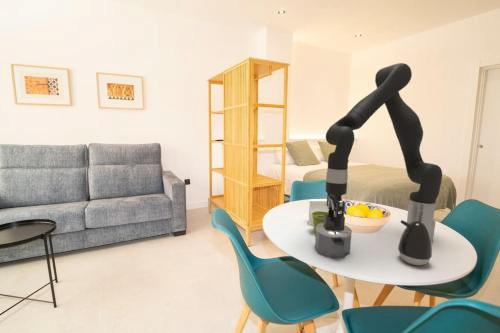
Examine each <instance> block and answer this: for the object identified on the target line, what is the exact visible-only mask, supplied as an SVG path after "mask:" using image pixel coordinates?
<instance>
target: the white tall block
mask: <svg viewBox="0 0 500 333" xmlns="http://www.w3.org/2000/svg"><path fill="white" fill-rule="evenodd" d="M328 210H329V209H328V206H327V199H318V198H317V199H309V206H308V224H309V225H310V226H312V227H314V222H313V216H312V212H315V211H324V212H328Z"/></svg>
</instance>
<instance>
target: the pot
mask: <svg viewBox="0 0 500 333" xmlns="http://www.w3.org/2000/svg"><path fill="white" fill-rule="evenodd" d="M351 244H352V235H351V236H349V237H347V238H331V237H327V236H324V235H321V234H320V233H318V232H317V231H316V233H315V241H314V248H315V251H316V252H317V254H319V255H320V256H321V255H322V256H323V257H326V258H328V259H345V258H346V257H348V256H349V255H350V254H351Z"/></svg>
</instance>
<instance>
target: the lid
mask: <svg viewBox="0 0 500 333" xmlns="http://www.w3.org/2000/svg"><path fill="white" fill-rule="evenodd" d="M345 221H346V217H345V216H344V217H341V225H340V227H335V226H334V215H324V223H320V224H318V225H317V226H316V231H317V232H318V233H320V234H321V235H324V236H327V237H331V238H347V237H349V236H351V237H352V229H351V228H350V227H349V226H347V225H345V224H346V222H345Z"/></svg>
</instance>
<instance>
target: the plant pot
mask: <svg viewBox="0 0 500 333" xmlns="http://www.w3.org/2000/svg"><path fill="white" fill-rule="evenodd" d="M324 215H328V212H324V211H315V212H312V216H313V222H314V226H313V231H314V233H315V234H316V226H317V225H318V224H320V223H324Z"/></svg>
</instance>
